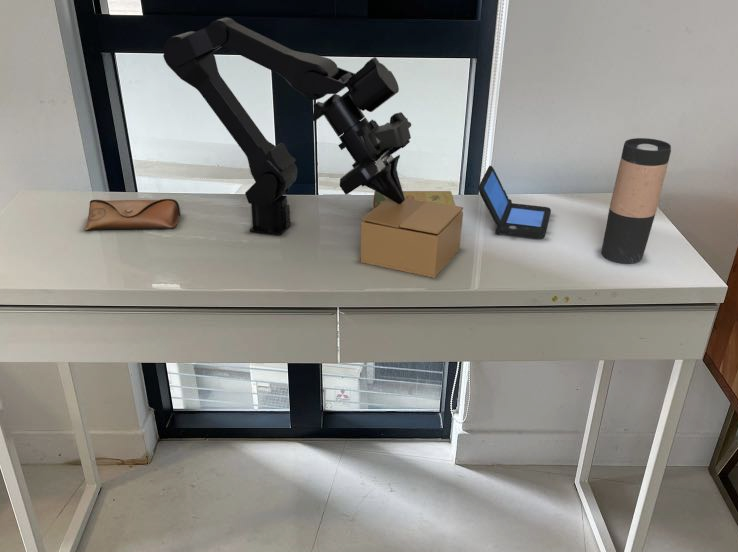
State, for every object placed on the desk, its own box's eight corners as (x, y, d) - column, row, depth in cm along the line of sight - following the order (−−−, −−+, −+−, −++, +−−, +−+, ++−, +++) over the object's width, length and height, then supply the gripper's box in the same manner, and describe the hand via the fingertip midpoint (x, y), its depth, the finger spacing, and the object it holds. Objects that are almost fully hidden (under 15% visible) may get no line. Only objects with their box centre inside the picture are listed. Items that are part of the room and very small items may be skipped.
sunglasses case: (81, 230, 139) (80, 195, 138) (92, 235, 146) (90, 202, 146) (176, 228, 140) (174, 193, 140) (181, 233, 147) (180, 200, 147)
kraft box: (360, 262, 128) (361, 217, 124) (389, 236, 138) (391, 194, 133) (434, 278, 123) (438, 232, 118) (459, 250, 133) (463, 206, 128)
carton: (454, 225, 143) (456, 204, 140) (373, 224, 143) (374, 203, 140) (450, 209, 149) (451, 189, 147) (372, 209, 150) (373, 189, 147)
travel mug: (590, 251, 132) (614, 140, 121) (623, 244, 135) (649, 135, 123) (619, 267, 126) (646, 153, 115) (653, 260, 129) (683, 147, 118)
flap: (361, 220, 124) (361, 217, 124) (391, 196, 133) (391, 194, 133) (398, 228, 121) (398, 226, 121) (426, 204, 131) (426, 202, 131)
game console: (544, 242, 136) (552, 195, 131) (471, 233, 139) (476, 187, 134) (551, 213, 148) (558, 169, 143) (484, 206, 151) (489, 163, 146)
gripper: (362, 119, 113) (417, 202, 118) (406, 85, 126) (454, 161, 130) (315, 155, 121) (368, 231, 125) (361, 119, 134) (408, 190, 138)
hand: (402, 202), depth 129 cm, fingers closed
